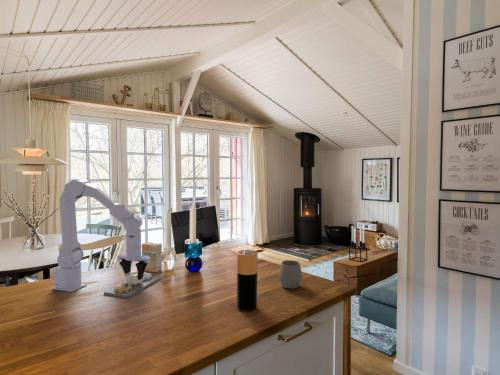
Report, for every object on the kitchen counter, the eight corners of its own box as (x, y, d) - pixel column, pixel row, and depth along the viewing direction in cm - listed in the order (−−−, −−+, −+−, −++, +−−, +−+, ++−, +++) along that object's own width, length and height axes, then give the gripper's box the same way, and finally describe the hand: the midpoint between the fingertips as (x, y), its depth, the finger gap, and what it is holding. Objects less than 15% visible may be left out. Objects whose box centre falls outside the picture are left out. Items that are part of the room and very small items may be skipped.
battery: (239, 313, 109) (239, 254, 108) (234, 304, 116) (235, 249, 115) (259, 310, 111) (260, 253, 110) (253, 302, 118) (254, 248, 117)
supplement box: (141, 271, 152) (140, 243, 151) (147, 268, 157) (147, 241, 156) (156, 273, 150) (156, 245, 149) (162, 270, 154) (162, 242, 154)
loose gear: (123, 283, 131) (123, 274, 130) (134, 278, 137) (134, 270, 137) (133, 285, 129) (133, 276, 128) (145, 280, 135) (144, 271, 135)
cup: (301, 283, 138) (301, 260, 138) (302, 291, 129) (303, 266, 129) (278, 282, 139) (279, 259, 139) (278, 290, 130) (279, 265, 130)
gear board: (103, 294, 124) (103, 285, 124) (139, 276, 145) (139, 268, 145) (128, 298, 121) (128, 288, 120) (160, 279, 142) (160, 270, 141)
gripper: (111, 246, 130) (112, 279, 131) (143, 249, 126) (143, 283, 127) (123, 242, 137) (124, 274, 138) (153, 245, 133) (153, 277, 133)
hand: (134, 278), depth 133 cm, fingers closed on loose gear, 5 cm apart
